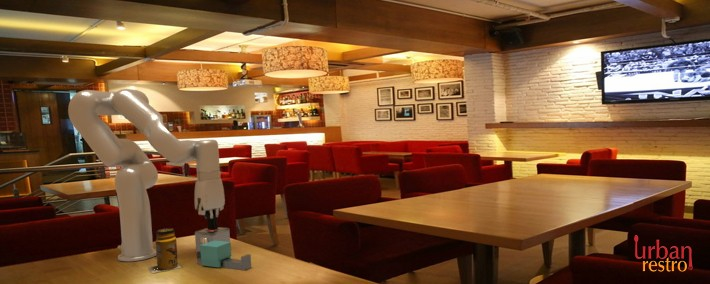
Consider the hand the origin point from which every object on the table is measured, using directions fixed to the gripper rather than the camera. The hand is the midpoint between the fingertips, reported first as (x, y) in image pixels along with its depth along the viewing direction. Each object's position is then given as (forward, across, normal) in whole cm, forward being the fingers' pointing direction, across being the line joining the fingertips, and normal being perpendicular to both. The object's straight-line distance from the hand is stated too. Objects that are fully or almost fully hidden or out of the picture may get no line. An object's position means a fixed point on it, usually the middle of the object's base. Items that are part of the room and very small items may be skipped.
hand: (212, 229), depth 165 cm
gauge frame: (+8, 0, 0) cm, 8 cm away
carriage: (+8, +10, +11) cm, 17 cm away
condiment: (+8, +18, -3) cm, 20 cm away
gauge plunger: (+5, 0, 0) cm, 5 cm away
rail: (+8, +10, +14) cm, 19 cm away
